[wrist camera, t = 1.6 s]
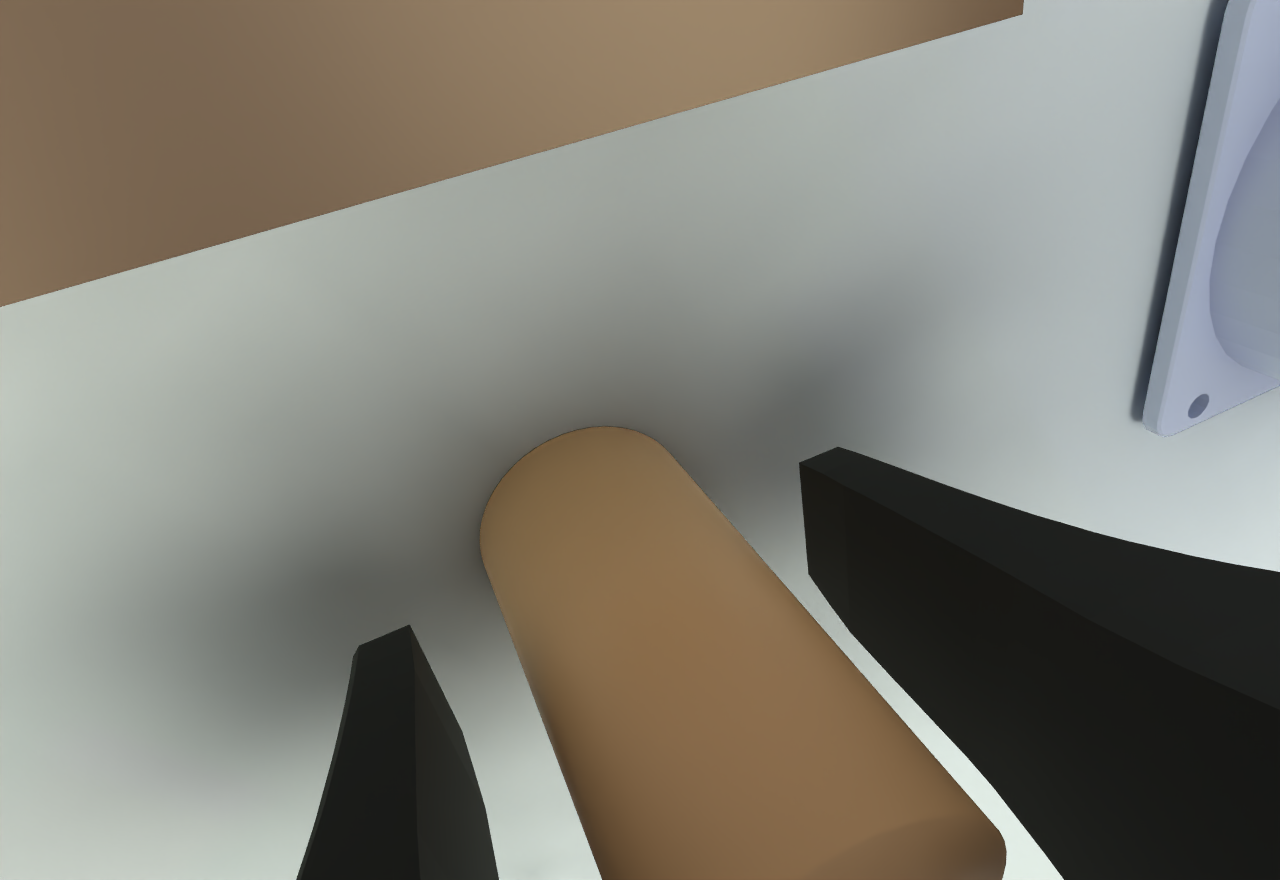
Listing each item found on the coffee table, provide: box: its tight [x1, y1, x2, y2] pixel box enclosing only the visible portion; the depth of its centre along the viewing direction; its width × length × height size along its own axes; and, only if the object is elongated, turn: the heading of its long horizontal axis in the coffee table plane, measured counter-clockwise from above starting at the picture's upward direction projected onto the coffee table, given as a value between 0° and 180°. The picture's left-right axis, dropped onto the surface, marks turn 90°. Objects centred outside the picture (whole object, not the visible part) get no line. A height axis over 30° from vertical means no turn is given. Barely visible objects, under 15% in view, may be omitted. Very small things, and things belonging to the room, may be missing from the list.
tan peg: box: [479, 426, 1007, 880], centre depth 9 cm, size 3×3×6 cm
